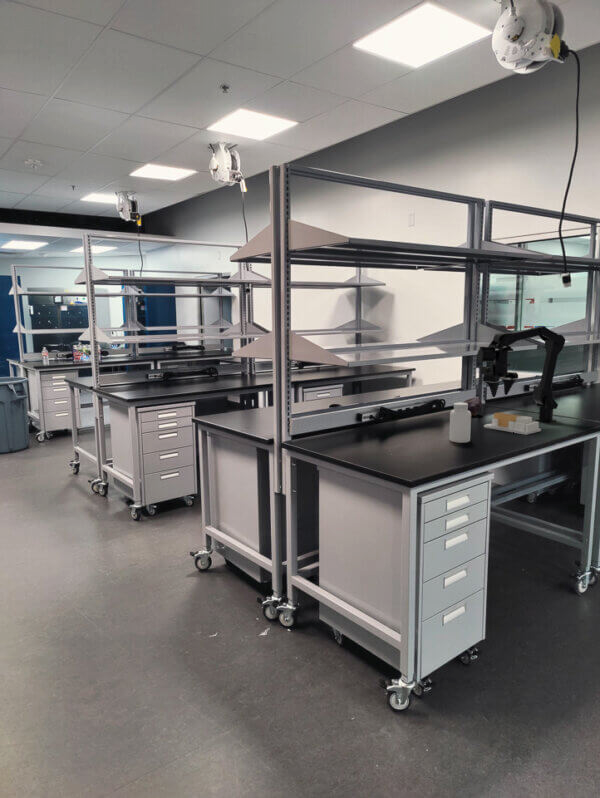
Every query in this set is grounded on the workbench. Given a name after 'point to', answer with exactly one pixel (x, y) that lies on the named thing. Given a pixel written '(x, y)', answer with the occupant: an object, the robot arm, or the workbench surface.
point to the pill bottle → (460, 423)
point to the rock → (473, 405)
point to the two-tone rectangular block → (511, 419)
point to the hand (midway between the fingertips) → (499, 395)
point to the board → (515, 427)
